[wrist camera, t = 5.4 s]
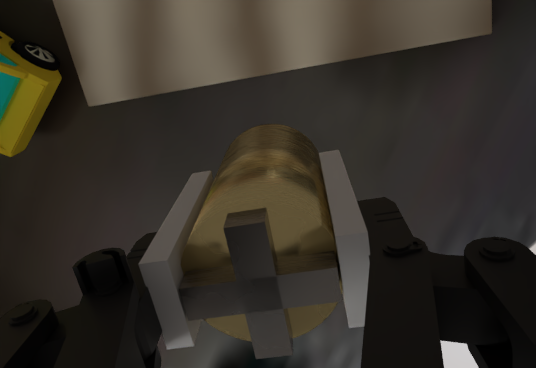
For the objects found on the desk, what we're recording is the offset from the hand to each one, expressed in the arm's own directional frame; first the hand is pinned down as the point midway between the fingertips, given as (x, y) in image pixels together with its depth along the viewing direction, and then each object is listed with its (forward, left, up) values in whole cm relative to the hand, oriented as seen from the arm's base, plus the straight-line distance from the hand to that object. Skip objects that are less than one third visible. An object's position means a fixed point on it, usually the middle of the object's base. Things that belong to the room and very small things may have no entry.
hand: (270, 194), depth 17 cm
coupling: (0, 0, -2) cm, 2 cm away
